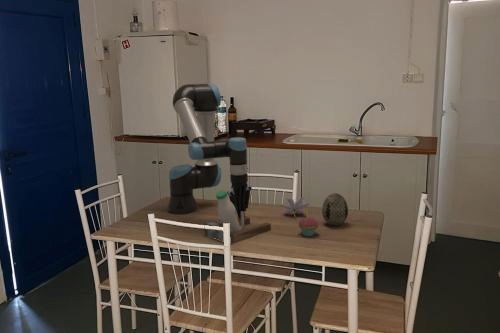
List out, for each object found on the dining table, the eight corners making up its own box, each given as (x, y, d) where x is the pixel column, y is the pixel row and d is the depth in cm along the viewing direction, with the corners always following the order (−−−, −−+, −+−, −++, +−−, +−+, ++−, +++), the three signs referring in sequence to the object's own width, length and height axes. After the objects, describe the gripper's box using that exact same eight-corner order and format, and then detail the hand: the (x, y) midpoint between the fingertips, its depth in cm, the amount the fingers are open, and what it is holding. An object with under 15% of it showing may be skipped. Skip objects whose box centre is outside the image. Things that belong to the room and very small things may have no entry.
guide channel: (204, 235, 196) (204, 222, 195) (246, 222, 213) (246, 210, 212) (229, 244, 185) (228, 230, 184) (270, 229, 202) (270, 217, 201)
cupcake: (295, 232, 198) (295, 206, 196) (312, 230, 201) (312, 204, 199) (304, 239, 190) (304, 211, 188) (322, 236, 193) (322, 209, 191)
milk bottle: (240, 236, 193) (227, 197, 184) (223, 237, 195) (209, 199, 186) (244, 225, 199) (231, 187, 191) (228, 227, 201) (214, 189, 193)
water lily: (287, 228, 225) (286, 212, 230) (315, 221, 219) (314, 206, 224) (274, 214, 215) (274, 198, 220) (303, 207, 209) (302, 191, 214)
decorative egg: (317, 225, 207) (317, 194, 204) (330, 219, 215) (331, 189, 212) (339, 231, 199) (340, 198, 196) (352, 224, 208) (353, 193, 205)
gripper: (233, 177, 188) (236, 230, 192) (255, 171, 196) (257, 223, 201) (221, 174, 193) (224, 227, 198) (243, 169, 202) (245, 220, 206)
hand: (241, 225), depth 199 cm, fingers closed
